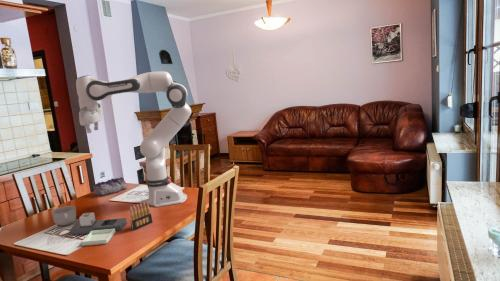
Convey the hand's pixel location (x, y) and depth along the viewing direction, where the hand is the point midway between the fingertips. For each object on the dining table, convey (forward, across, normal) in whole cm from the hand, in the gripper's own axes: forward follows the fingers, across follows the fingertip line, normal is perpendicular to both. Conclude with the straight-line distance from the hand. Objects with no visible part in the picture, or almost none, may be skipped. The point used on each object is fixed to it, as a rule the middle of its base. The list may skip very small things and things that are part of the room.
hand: (93, 131), depth 184 cm
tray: (+45, -40, -12) cm, 61 cm away
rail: (+45, -29, -8) cm, 54 cm away
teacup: (+45, -19, +14) cm, 50 cm away
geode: (+45, +29, +8) cm, 54 cm away
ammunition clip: (+45, -29, -28) cm, 61 cm away
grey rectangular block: (+45, -29, -2) cm, 53 cm away
